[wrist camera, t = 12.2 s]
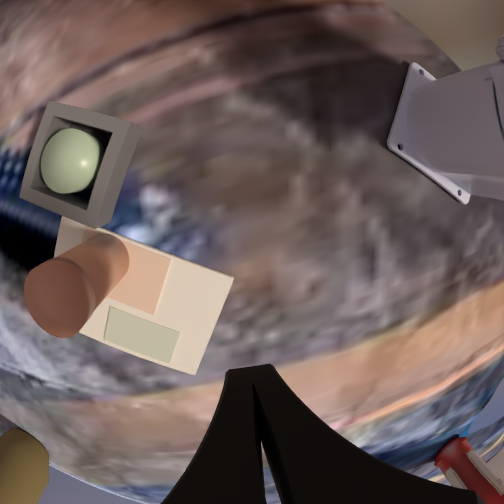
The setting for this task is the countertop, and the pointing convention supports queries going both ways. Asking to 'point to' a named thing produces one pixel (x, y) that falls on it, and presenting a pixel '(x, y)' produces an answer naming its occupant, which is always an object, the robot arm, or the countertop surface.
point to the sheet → (154, 302)
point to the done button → (71, 161)
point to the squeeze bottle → (22, 468)
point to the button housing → (108, 176)
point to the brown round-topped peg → (75, 284)
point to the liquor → (469, 471)
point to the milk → (497, 464)
